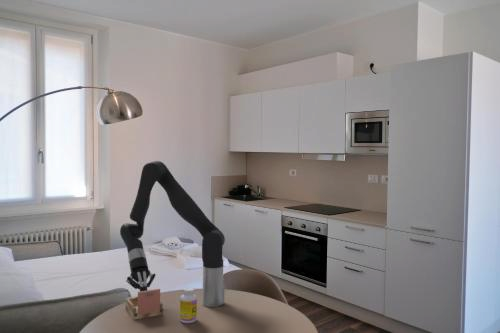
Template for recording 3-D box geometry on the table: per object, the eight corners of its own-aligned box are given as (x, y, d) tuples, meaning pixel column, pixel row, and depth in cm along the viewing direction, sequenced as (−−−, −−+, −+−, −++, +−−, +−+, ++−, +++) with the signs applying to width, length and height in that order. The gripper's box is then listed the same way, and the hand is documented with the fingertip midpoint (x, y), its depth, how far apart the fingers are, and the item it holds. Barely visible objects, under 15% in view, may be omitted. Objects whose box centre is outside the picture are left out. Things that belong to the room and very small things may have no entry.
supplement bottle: (193, 324, 157) (193, 292, 157) (177, 322, 158) (177, 290, 158) (198, 318, 163) (199, 287, 163) (183, 316, 165) (184, 285, 165)
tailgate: (159, 310, 166) (159, 288, 166) (160, 311, 165) (160, 289, 165) (137, 313, 161) (137, 291, 161) (138, 315, 160) (138, 292, 160)
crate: (152, 304, 179) (152, 294, 179) (163, 315, 166) (163, 304, 166) (125, 308, 172) (125, 298, 172) (134, 320, 160) (134, 309, 160)
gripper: (124, 257, 173) (130, 294, 163) (154, 254, 180) (162, 289, 169) (121, 267, 178) (127, 303, 167) (150, 264, 184) (158, 298, 174)
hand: (144, 296), depth 168 cm, fingers closed
